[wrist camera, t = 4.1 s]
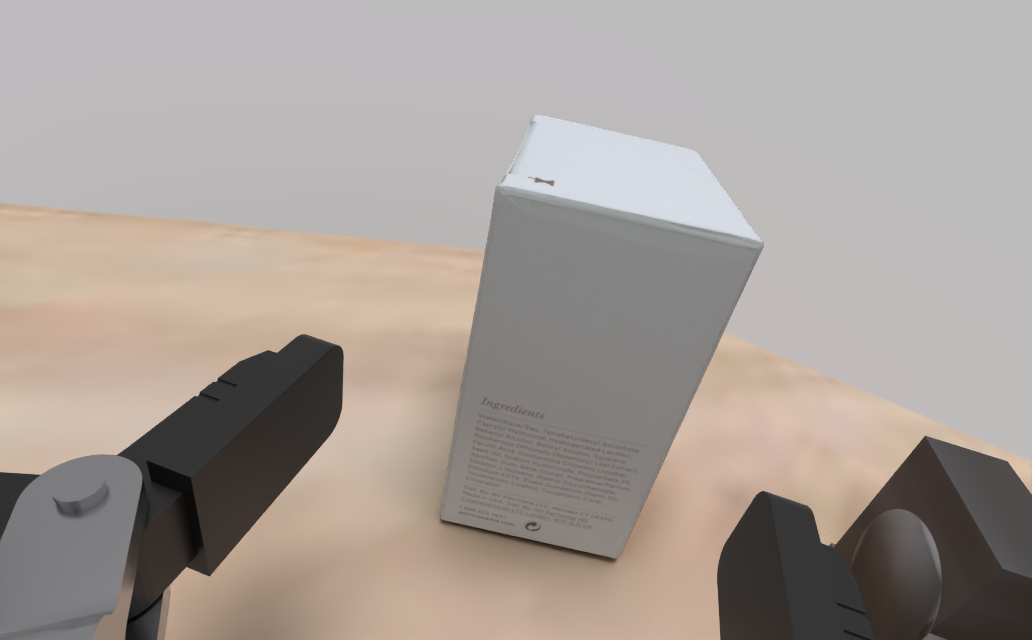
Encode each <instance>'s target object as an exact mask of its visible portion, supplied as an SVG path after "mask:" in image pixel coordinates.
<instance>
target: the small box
mask: <svg viewBox="0 0 1032 640" xmlns="http://www.w3.org/2000/svg"><path fill="white" fill-rule="evenodd" d="M763 247H764V246H763V241H762V240H761V239H760V238H759V237H758V236H757V234H756V233H755V232H754V230H753V229H752V227H751V226H750V225H749V223H748V222H747V220H746V219H745V218H744V216H743V215H742V214H741V213H740V211H739V209H738V208H737V207H736V206H735V204H734V202H733V201H732V200H731V199H730V197H729V196H728V195H727V193H726V192H725V190H724V189H723V187H722V186H721V185H720V183H719V182H718V180H717V179H716V178H715V176H714V175H713V174H712V172H711V171H710V170H709V168H708V167H707V165H706V164H705V163H704V161H703V160H702V158H701V157H700V156H699V154H698V153H697V152H696V151H694V150H690V149H686V148H683V147H678V146H675V145H671V144H667V143H662V142H658V141H653V140H648V139H644V138H639V137H635V136H630V135H626V134H622V133H618V132H614V131H609V130H605V129H601V128H596V127H592V126H588V125H583V124H579V123H574V122H570V121H565V120H561V119H557V118H552V117H547V116H541V115H534V116H533V117H532V118H531V119H530V122H529V128H528V131H527V133H526V135H525V137H524V139H523V142H522V144H521V146H520V148H519V150H518V153H517V154H516V156H515V158H514V160H513V162H512V164H511V166H510V167H509V169H508V171H507V173H506V174H505V175H504V176H503V177H502V179H501V180H500V182H499V183H498V184H497V186H496V190H495V196H494V202H493V209H492V215H491V221H490V228H489V233H488V239H487V244H486V249H485V255H484V261H483V267H482V273H481V279H480V285H479V290H478V296H477V301H476V307H475V313H474V318H473V323H472V329H471V335H470V340H469V344H468V349H467V356H466V362H465V368H464V373H463V379H462V384H461V390H460V396H459V402H458V408H457V414H456V420H455V425H454V432H453V438H452V444H451V449H450V455H449V461H448V467H447V474H446V480H445V486H444V493H443V499H442V505H441V513H440V516H441V519H443V520H445V521H449V522H454V523H458V524H463V525H467V526H472V527H477V528H481V529H485V530H490V531H494V532H499V533H503V534H507V535H512V536H516V537H521V538H526V539H530V540H535V541H539V542H544V543H548V544H553V545H557V546H562V547H566V548H570V549H575V550H579V551H584V552H589V553H593V554H598V555H602V556H606V557H611V558H618V557H619V556H620V555H621V552H622V550H623V548H624V546H625V544H626V541H627V539H628V537H629V535H630V533H631V531H632V529H633V527H634V525H635V523H636V520H637V518H638V516H639V514H640V512H641V510H642V507H643V505H644V503H645V501H646V499H647V497H648V494H649V492H650V490H651V488H652V486H653V484H654V482H655V479H656V477H657V475H658V473H659V471H660V469H661V466H662V464H663V462H664V460H665V457H666V455H667V453H668V451H669V449H670V447H671V444H672V442H673V440H674V438H675V436H676V434H677V432H678V430H679V428H680V425H681V423H682V421H683V419H684V417H685V415H686V412H687V410H688V408H689V406H690V404H691V401H692V399H693V397H694V395H695V393H696V391H697V389H698V387H699V384H700V382H701V380H702V378H703V375H704V373H705V371H706V369H707V367H708V365H709V363H710V361H711V358H712V356H713V354H714V352H715V350H716V348H717V345H718V343H719V341H720V339H721V337H722V335H723V332H724V330H725V328H726V326H727V323H728V321H729V319H730V317H731V315H732V313H733V310H734V308H735V306H736V304H737V302H738V300H739V298H740V296H741V293H742V291H743V289H744V287H745V285H746V283H747V281H748V279H749V276H750V274H751V272H752V270H753V268H754V265H755V264H756V261H757V259H758V257H759V255H760V253H761V251H762V249H763Z"/></svg>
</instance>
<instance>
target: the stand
mask: <svg viewBox="0 0 1032 640" xmlns="http://www.w3.org/2000/svg"><path fill="white" fill-rule="evenodd" d="M829 546H830V547H833V548H835V549H836V550H837V552H838V553H839V555H840V556H841V558H842V559H843V561H844V562H845V564H846V565H847V567H848V568H849V570H850V571H851V573H852V574H853V576H854V577H855V579H856V580H857V584H858V587H859V590H860V593H861V597H862V600H863V603H864V607H865V610H866V615H865V618H866V619H868V620H869V623H870V626H871V630H872V633H873V636H874V639H875V640H1032V494H1031V493H1030V492H1029V490H1028V489H1027V488H1026V486H1025V485H1024V483H1023V482H1022V481H1021V479H1020V478H1019V477H1018V475H1017V474H1016V473H1015V471H1014V470H1013V468H1012V467H1011V466H1010V464H1009V463H1008V462H1007V461H1005V460H1001V459H998V458H995V457H992V456H988V455H985V454H982V453H979V452H976V451H972V450H969V449H966V448H963V447H960V446H956V445H953V444H950V443H947V442H944V441H940V440H937V439H934V438H931V437H927V436H925V437H924V438H923V439H922V440H921V442H920V443H919V444H918V445H917V446H916V448H915V449H914V450H913V451H912V453H911V454H910V455H909V456H908V457H907V459H906V460H905V461H904V462H903V464H902V465H901V466H900V467H899V468H898V470H897V471H896V472H895V473H894V475H893V476H892V477H891V478H890V479H889V481H888V482H887V483H886V484H885V486H884V487H883V488H882V489H881V490H880V492H879V493H878V494H877V495H876V496H875V498H874V499H873V500H872V501H871V503H870V504H869V505H868V506H867V507H866V509H865V510H864V511H863V512H862V514H861V515H860V516H859V517H858V518H857V520H856V521H855V522H854V523H853V525H852V526H851V527H850V528H849V529H848V531H847V532H846V533H845V534H844V536H843V537H842V538H841V539H840V540H839V542H838V543H837V544H836V545H835V544H832V543H831V544H830V545H829Z"/></svg>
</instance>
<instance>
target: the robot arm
mask: <svg viewBox="0 0 1032 640" xmlns="http://www.w3.org/2000/svg"><path fill="white" fill-rule="evenodd" d="M343 359H344V356H343V350H342V348H341V347H340V346H338V345H335V344H332V343H329V342H326V341H324V340H321V339H318V338H315V337H312V336H309V335H305V334H303V335H300V336H298V337H296V338H295V339H294V340H292V341H291V342H290V343H289V344H288V345H286V346H285V347H284V348H283V349H281V350H280V351H279V352H278V353H275V352H272V351H269V350H268V351H265V352H263V353H260V354H257V355H255V356H252V357H250V358H247V359H245V360H242V361H240V362H239V363H237V364H236V365H235V366H233V367H232V368H231V369H229V370H228V371H227V372H225V373H224V374H223V375H222V376H220V377H219V378H218V381H217V382H212V383H211V384H210V385H209V386H207V387H206V388H205V389H203V390H202V391H201V392H200V394H199V396H198V397H197V396H194V397H193V398H192V399H190V400H189V401H188V402H186V403H185V404H184V405H182V406H181V407H180V408H179V409H177V410H176V411H175V412H173V413H172V414H171V415H169V416H168V417H167V418H166V419H164V420H163V421H162V422H160V423H159V424H158V425H156V426H155V427H154V428H152V429H151V430H150V431H149V432H147V433H146V434H145V435H143V436H142V437H141V438H139V439H138V440H137V441H136V442H134V443H133V444H132V445H130V446H129V447H128V448H126V449H125V450H124V451H122V452H121V453H119V454H118V455H91V456H85V457H81V458H77V459H73V460H70V461H68V462H65V463H62V464H60V465H58V466H56V467H54V468H52V469H50V470H48V471H46V472H45V473H43V474H42V475H34V474H19V473H3V472H0V640H165V633H166V625H167V617H168V609H169V602H170V594H171V587H170V584H171V583H172V582H173V581H174V580H175V579H176V578H177V576H178V575H179V574H180V573H181V572H182V571H183V570H184V569H185V568H186V567H188V568H190V569H193V570H195V571H198V572H200V573H202V574H205V575H207V576H210V575H211V574H212V573H213V572H214V571H215V569H216V568H217V567H218V566H219V565H220V564H221V562H222V561H223V560H224V559H225V558H226V557H227V555H228V554H229V553H230V552H231V551H232V550H233V548H234V547H235V546H236V545H237V544H238V543H239V541H240V540H241V539H242V538H243V537H244V536H245V534H246V533H247V532H248V531H249V530H250V529H251V527H252V526H253V525H254V524H255V523H256V521H257V520H258V519H259V518H260V517H261V516H262V514H263V513H264V512H265V511H266V510H267V509H268V507H269V506H270V505H271V504H272V503H273V502H274V500H275V499H276V498H277V497H278V496H279V495H280V493H281V492H282V491H283V490H284V489H285V488H286V486H287V485H288V484H289V483H290V482H291V481H292V479H293V478H294V477H295V476H296V475H297V474H298V472H299V471H300V470H301V469H302V468H303V467H304V465H305V464H306V463H307V462H308V461H309V459H310V458H311V457H312V456H313V455H314V454H315V452H316V451H317V450H318V449H319V448H320V447H321V445H322V444H323V443H324V442H325V441H326V440H327V438H328V437H329V436H330V435H331V433H332V432H333V430H334V428H335V427H336V424H337V422H338V420H339V417H340V414H341V410H342V395H343ZM717 584H718V602H719V619H720V637H721V640H875V639H874V636H873V633H872V630H871V626H870V623H869V620H868V619H866V618H865V615H866V610H865V607H864V603H863V600H862V597H861V593H860V590H859V587H858V584H857V580H856V579H855V577H854V576H853V574H852V573H851V571H850V570H849V568H848V567H847V565H846V564H845V562H844V561H843V559H842V558H841V556H840V555H839V553H838V552H837V550H836V549H835V548H833V547H830V546H828V545H825V544H822V543H821V542H820V538H819V534H818V530H817V526H816V522H815V518H814V515H813V512H812V510H811V509H810V508H809V507H808V506H806V505H803V504H800V503H798V502H795V501H792V500H789V499H786V498H783V497H780V496H777V495H774V494H771V493H768V492H765V491H762V492H760V493H758V494H757V495H756V497H755V498H754V499H753V501H752V502H751V504H750V506H749V507H748V509H747V510H746V512H745V513H744V515H743V516H742V518H741V520H740V521H739V523H738V524H737V526H736V527H735V529H734V530H733V532H732V534H731V535H730V537H729V538H728V540H727V541H726V543H725V545H724V547H723V550H722V552H721V556H720V560H719V564H718V572H717Z"/></svg>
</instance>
